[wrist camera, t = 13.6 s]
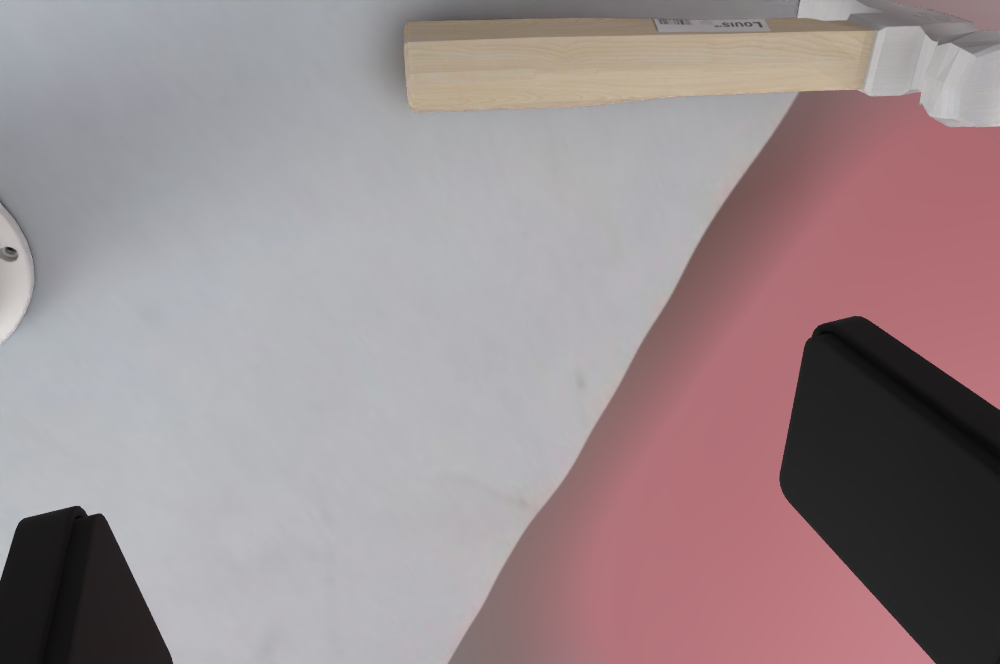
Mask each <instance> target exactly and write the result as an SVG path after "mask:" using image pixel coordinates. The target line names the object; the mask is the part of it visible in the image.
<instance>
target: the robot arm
mask: <svg viewBox="0 0 1000 664" xmlns="http://www.w3.org/2000/svg"><path fill="white" fill-rule="evenodd" d="M7 247H11V248H13V249H15V250H16V251H11V250H9V249H8V248H7ZM34 281H35V278H34V266H33V258H32V255H31V252H30V249H29V246H28V243H27V240H26V238H25V237H24V235H23V233H22V231H21V230H20V228H19V226H18V224H17V222H16V221H15V219H14V218H13V217H12V216H11V215H10V213H9V212H8V211H7V210H6V209H5V208H4V206H3V205H2V204H1V203H0V344H2V343H3V342H4V341H5V340H6V339H7V338H8V337H9V336H10V335H11V334H12V333H13V332H14V331H15V330H16V328H17V326H18V325H19V323H20V321H21V320H22V318H23V316H24V315H25V313H26V311H27V308H28V306H29V303H30V301H31V298H32V292H33V287H34ZM779 480H780V486H781V489H782V492H783V494H784V495H785V497H786V499H787V500H788V501H789V503H790V504H791V505H792V506H793V507H794V508H795V509H796V510H797V511H798V512H799V514H800V515H801V516H802V517H803V518H804V519H805V520H806V521H807V522H808V523H809V525H811V527H812V528H813V529H814V530H815V531H816V532H817V533H818V534H819V536H820V537H821V538H822V539H823V540H824V541H825V542H826V543H827V544H828V545H829V547H830V548H831V549H832V550H833V551H834V552H835V553H836V554H837V555H838V556H839V558H840V559H841V560H842V561H843V562H844V563H845V564H846V565H847V566H848V567H849V569H850V570H851V571H852V572H853V573H854V574H855V575H856V576H857V577H858V578H859V580H860V581H861V582H862V583H863V584H864V585H865V586H866V587H867V588H868V589H869V590H870V592H871V593H872V594H873V595H874V596H875V597H876V598H877V599H878V600H879V601H880V603H881V604H882V605H883V606H884V607H885V608H886V609H887V610H888V611H889V612H890V614H891V615H892V616H893V617H894V618H895V619H896V620H897V621H898V622H899V624H901V626H902V627H903V628H904V629H905V630H906V631H907V632H908V633H909V635H910V636H912V638H913V639H914V640H915V641H916V642H917V643H918V644H919V645H920V647H921V648H922V649H923V650H924V651H925V652H926V653H927V654H928V655H929V656H930V658H931V659H932V660H933V661H934V662H935V663H936V664H1000V410H999V409H997V408H996V407H994V406H992V405H991V404H990V403H988V402H987V401H986V400H984V399H983V398H981V397H980V396H978V395H977V394H975V393H974V392H972V391H971V390H970V389H968V388H967V387H965V386H964V385H962V384H961V383H959V382H958V381H956V380H955V379H953V378H952V377H951V376H949V375H948V374H946V373H945V372H943V371H942V370H940V369H939V368H938V367H936V366H935V365H933V364H932V363H930V362H929V361H927V360H926V359H924V358H923V357H921V356H920V355H919V354H917V353H916V352H914V351H912V350H911V349H910V348H908V347H907V346H905V345H904V344H902V343H901V342H900V341H898V340H897V339H895V338H894V337H892V336H891V335H889V334H888V333H886V332H885V331H884V330H882V329H881V328H879V327H878V326H876V325H875V324H873V323H872V322H870V321H869V320H867V319H865V318H863V317H860V316H853V317H849V318H845V319H841V320H837V321H833V322H829V323H824V324H822V325H819V326H818V327H817V328H816V329H815V330H814V332H813V335H812V337H811V338H809V339H808V340H807V342H806V344H805V347H804V352H803V357H802V362H801V367H800V372H799V378H798V383H797V388H796V393H795V398H794V403H793V409H792V414H791V419H790V424H789V429H788V435H787V440H786V445H785V450H784V455H783V461H782V465H781V471H780V479H779ZM0 664H173V661H172V658H171V655H170V653H169V651H168V648H167V646H166V644H165V642H164V640H163V638H162V636H161V634H160V632H159V630H158V627H157V625H156V623H155V621H154V619H153V617H152V615H151V613H150V611H149V608H148V606H147V604H146V602H145V600H144V598H143V596H142V594H141V592H140V589H139V587H138V585H137V583H136V581H135V579H134V577H133V575H132V573H131V571H130V568H129V566H128V564H127V562H126V560H125V558H124V556H123V554H122V552H121V549H120V547H119V545H118V543H117V541H116V539H115V537H114V535H113V533H112V530H111V528H110V526H109V524H108V522H107V520H106V519H105V517H104V516H103V515H102V514H94V515H90V516H88V515H87V514H86V512H85V511H84V509H82V508H81V507H80V506H73V507H69V508H65V509H61V510H57V511H53V512H49V513H44V514H40V515H36V516H32V517H28V518H24V519H23V520H21V521H20V522H19V524H18V526H17V528H16V531H15V534H14V537H13V541H12V544H11V547H10V550H9V554H8V557H7V560H6V564H5V567H4V570H3V574H2V577H1V580H0Z"/></svg>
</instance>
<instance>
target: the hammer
mask: <svg viewBox="0 0 1000 664" xmlns="http://www.w3.org/2000/svg"><path fill="white" fill-rule="evenodd" d="M404 61H405V77H406V89H407V99H408V105H409V107H410V109H411V110H412V111H413V112H415V113H420V112H447V111H474V110H501V109H528V108H554V107H580V106H595V105H603V104H612V103H621V102H629V101H638V100H646V99H655V98H664V97H680V96H704V95H726V94H748V93H771V92H793V91H822V90H854V89H857V90H859V91H861V92H863V93H865V94H867V95H869V96H894V95H905V94H909V93H914V92H921V98H920V104H919V105H923V106H924V108H925V109H926V111H927V113H928V114H929V116H930V117H932V118H934V119H936V120H938V121H939V122H941V123H943V124H945V125H946V126H948V127H965V126H971V127H989V126H1000V30H985V31H984V30H982V31H979V30H978V29H977V27H976V25H975V24H974V22H971V21H968V20H965V19H962V18H959V17H955V16H952V15H949V14H946V13H942V12H938V11H935V10H932V9H925V8H917V7H910V6H905V5H902V4H899V3H896V2H893V1H890V0H800V4H799V10H798V15H797V18H776V19H727V20H677V19H635V18H544V19H497V20H452V21H408V22H407V23H406V25H405V26H404Z"/></svg>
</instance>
